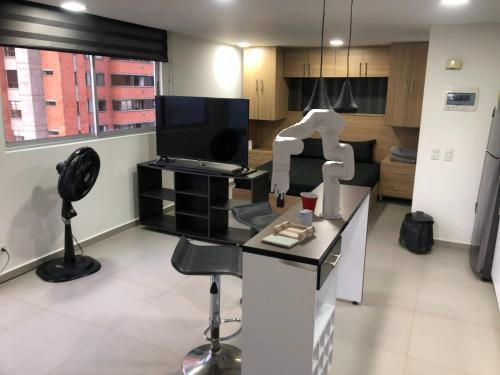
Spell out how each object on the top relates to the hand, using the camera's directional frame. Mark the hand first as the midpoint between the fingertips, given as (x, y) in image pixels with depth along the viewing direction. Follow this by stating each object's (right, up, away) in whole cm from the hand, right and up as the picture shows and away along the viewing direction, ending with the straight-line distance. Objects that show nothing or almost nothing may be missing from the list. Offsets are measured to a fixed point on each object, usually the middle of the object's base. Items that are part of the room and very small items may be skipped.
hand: (280, 207), depth 185 cm
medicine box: (+15, -12, +27) cm, 33 cm away
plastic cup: (+20, -7, +51) cm, 56 cm away
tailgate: (+3, -14, +8) cm, 16 cm away
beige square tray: (+7, -14, +14) cm, 21 cm away
